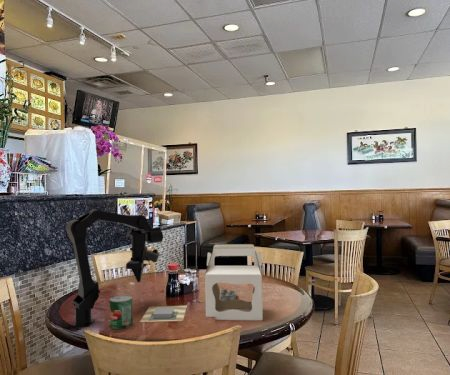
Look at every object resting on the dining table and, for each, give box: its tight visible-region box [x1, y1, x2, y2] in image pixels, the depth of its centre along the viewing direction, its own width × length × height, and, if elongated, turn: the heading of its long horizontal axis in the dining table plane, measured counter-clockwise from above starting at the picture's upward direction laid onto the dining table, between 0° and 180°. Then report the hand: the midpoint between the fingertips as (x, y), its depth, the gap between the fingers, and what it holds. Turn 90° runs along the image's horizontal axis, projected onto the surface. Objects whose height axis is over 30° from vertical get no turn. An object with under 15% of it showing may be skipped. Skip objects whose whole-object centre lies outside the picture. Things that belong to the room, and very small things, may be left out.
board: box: [139, 305, 188, 323], centre depth 140 cm, size 18×16×1 cm
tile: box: [153, 306, 174, 318], centre depth 137 cm, size 2×7×8 cm
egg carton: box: [219, 287, 238, 301], centre depth 162 cm, size 11×8×4 cm
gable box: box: [204, 243, 264, 321], centre depth 141 cm, size 22×13×28 cm, turn 84°
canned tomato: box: [109, 294, 133, 334], centre depth 127 cm, size 8×8×11 cm
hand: (139, 281), depth 148 cm, fingers closed
